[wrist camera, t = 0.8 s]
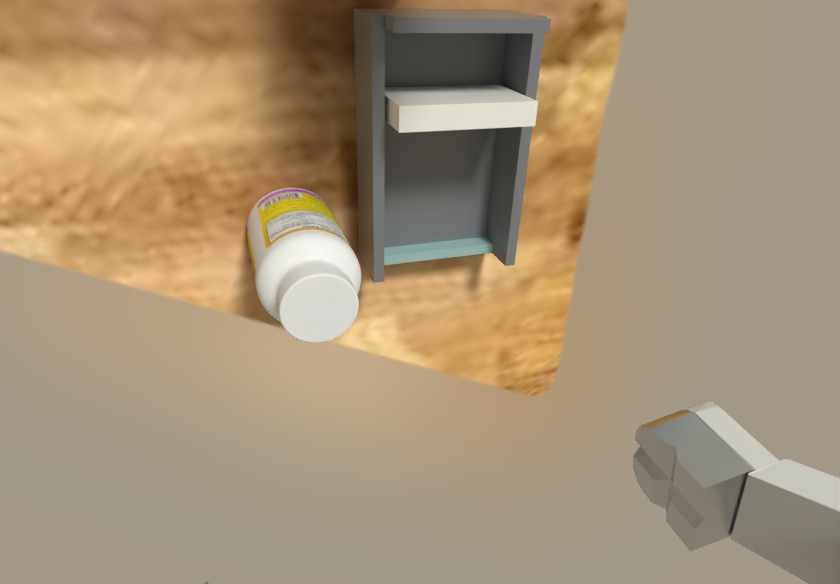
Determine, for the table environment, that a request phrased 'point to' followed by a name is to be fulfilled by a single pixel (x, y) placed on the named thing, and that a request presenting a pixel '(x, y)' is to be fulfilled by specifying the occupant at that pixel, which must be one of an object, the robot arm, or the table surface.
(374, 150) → the pusher lane
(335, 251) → the supplement bottle
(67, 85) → the table surface
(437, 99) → the plate
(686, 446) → the robot arm
